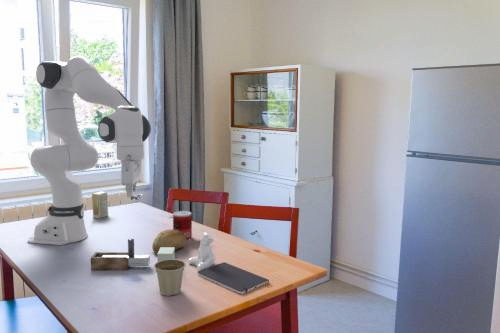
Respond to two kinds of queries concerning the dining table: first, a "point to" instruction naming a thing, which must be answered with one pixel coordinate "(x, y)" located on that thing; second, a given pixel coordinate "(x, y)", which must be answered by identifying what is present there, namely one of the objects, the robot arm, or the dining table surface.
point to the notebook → (232, 277)
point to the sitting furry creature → (204, 253)
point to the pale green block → (166, 253)
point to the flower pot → (170, 276)
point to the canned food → (183, 223)
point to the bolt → (133, 256)
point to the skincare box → (100, 204)
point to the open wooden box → (109, 261)
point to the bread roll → (169, 240)
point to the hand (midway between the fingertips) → (131, 194)
